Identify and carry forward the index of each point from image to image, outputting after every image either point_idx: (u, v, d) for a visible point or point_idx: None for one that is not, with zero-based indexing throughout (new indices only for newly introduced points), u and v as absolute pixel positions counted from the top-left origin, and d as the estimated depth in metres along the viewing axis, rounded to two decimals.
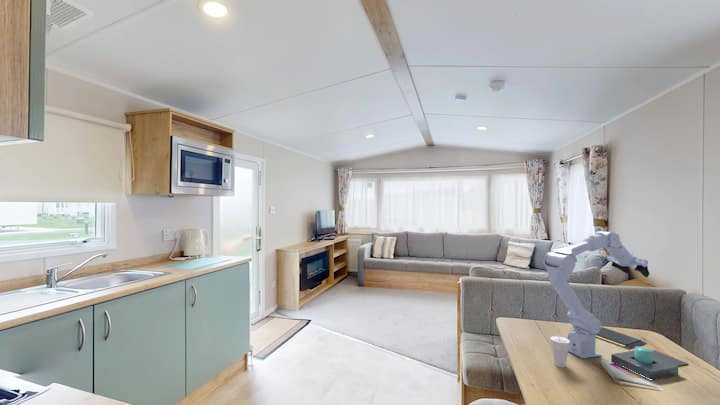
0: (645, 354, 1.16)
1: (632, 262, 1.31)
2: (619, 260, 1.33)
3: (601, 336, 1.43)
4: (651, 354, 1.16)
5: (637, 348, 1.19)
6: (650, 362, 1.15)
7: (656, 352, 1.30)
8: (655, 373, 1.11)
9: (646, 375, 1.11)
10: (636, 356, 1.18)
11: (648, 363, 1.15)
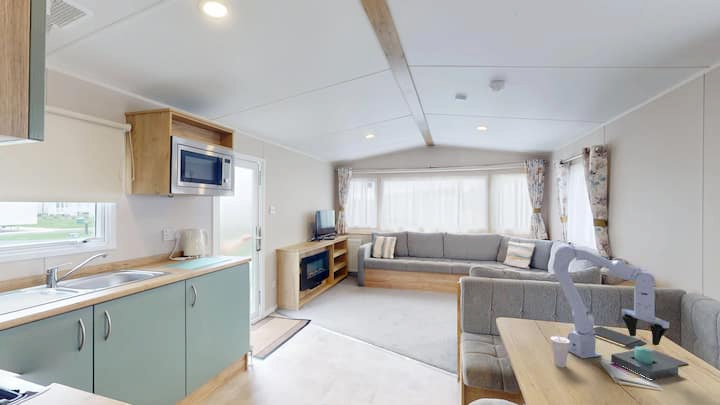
0: (645, 354, 1.16)
1: (651, 319, 1.15)
2: (640, 309, 1.17)
3: (601, 336, 1.44)
4: (651, 354, 1.16)
5: (637, 348, 1.19)
6: (650, 362, 1.15)
7: (656, 352, 1.30)
8: (655, 373, 1.11)
9: (646, 375, 1.11)
10: (636, 356, 1.18)
11: (648, 363, 1.15)
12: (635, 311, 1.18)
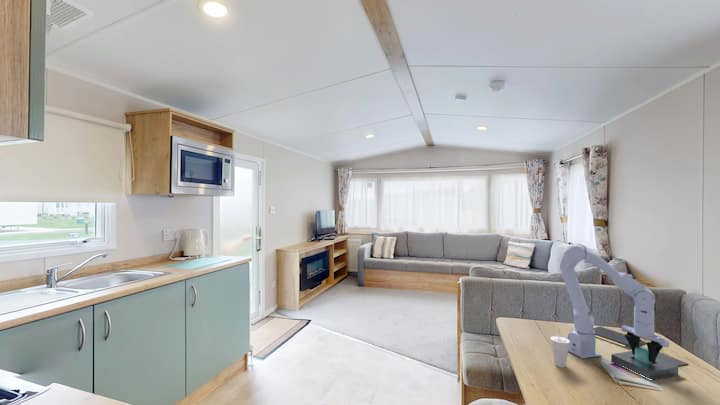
0: (645, 354, 1.16)
1: (651, 337, 1.15)
2: (639, 326, 1.17)
3: (601, 336, 1.44)
4: None
5: (637, 348, 1.19)
6: (650, 362, 1.15)
7: None
8: (655, 373, 1.11)
9: (646, 375, 1.11)
10: (636, 356, 1.18)
11: (648, 363, 1.15)
12: (635, 329, 1.18)
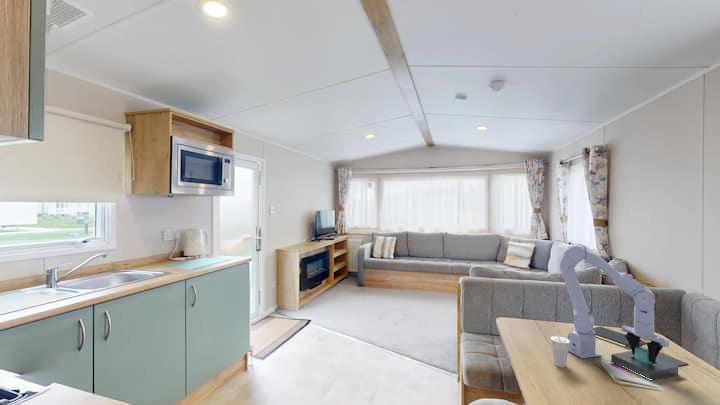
0: (645, 354, 1.16)
1: (651, 337, 1.15)
2: (639, 326, 1.17)
3: (601, 336, 1.44)
4: None
5: (637, 348, 1.19)
6: (650, 362, 1.15)
7: None
8: (655, 373, 1.11)
9: (646, 375, 1.11)
10: (636, 356, 1.18)
11: (648, 363, 1.15)
12: (635, 329, 1.18)
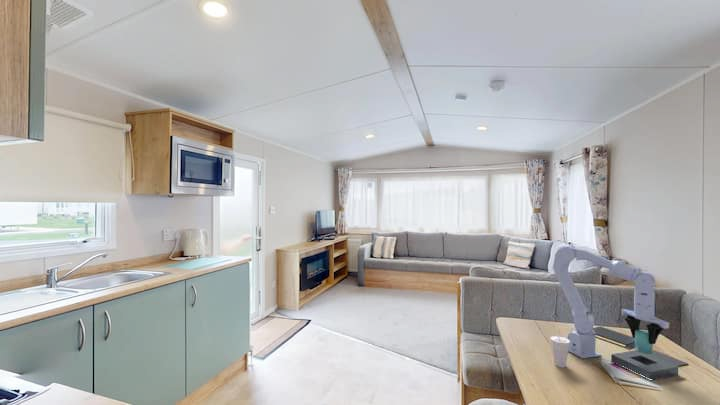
0: (645, 337, 1.16)
1: (651, 319, 1.15)
2: (640, 309, 1.17)
3: (601, 336, 1.44)
4: None
5: (637, 330, 1.19)
6: (650, 344, 1.15)
7: (656, 352, 1.30)
8: (655, 373, 1.11)
9: (646, 375, 1.11)
10: (636, 339, 1.18)
11: (648, 345, 1.15)
12: (635, 311, 1.18)
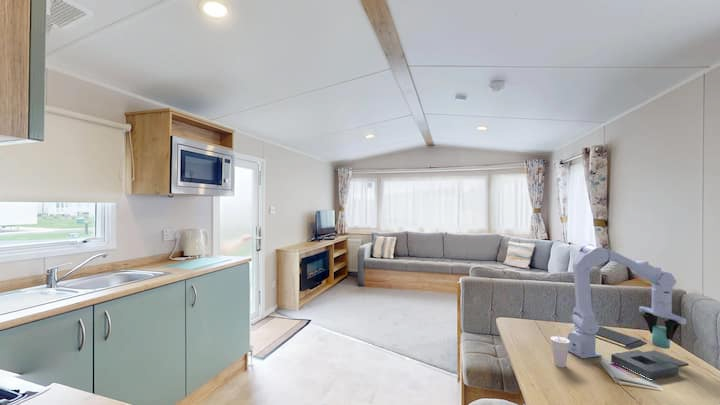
0: (663, 332, 1.22)
1: (669, 315, 1.21)
2: (657, 306, 1.23)
3: (601, 336, 1.44)
4: None
5: (654, 326, 1.25)
6: (668, 339, 1.22)
7: (656, 352, 1.30)
8: (655, 373, 1.11)
9: (646, 375, 1.11)
10: (654, 334, 1.25)
11: (666, 340, 1.22)
12: (653, 308, 1.25)
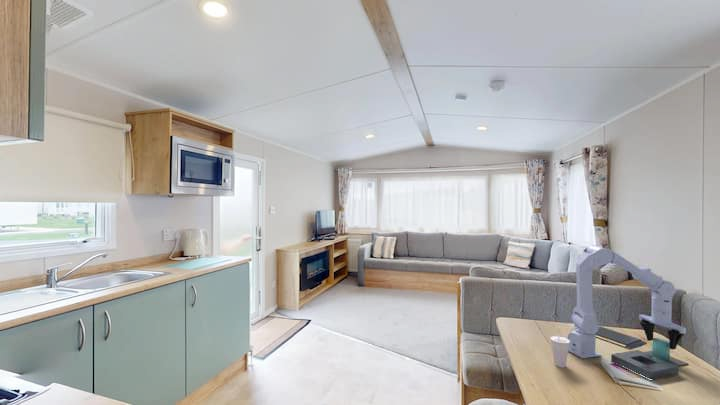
0: (663, 345, 1.22)
1: (669, 324, 1.21)
2: (657, 315, 1.23)
3: (601, 336, 1.44)
4: (669, 345, 1.22)
5: (655, 339, 1.25)
6: (668, 352, 1.22)
7: None
8: (655, 373, 1.11)
9: (646, 375, 1.11)
10: (654, 347, 1.25)
11: (666, 353, 1.22)
12: (653, 317, 1.25)
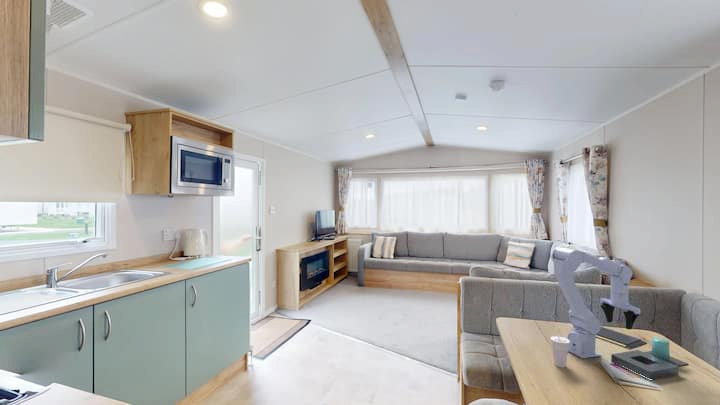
0: (662, 345, 1.22)
1: (625, 306, 1.29)
2: (615, 297, 1.31)
3: (601, 336, 1.44)
4: (668, 344, 1.22)
5: (654, 339, 1.26)
6: (667, 352, 1.22)
7: None
8: (655, 373, 1.11)
9: (646, 375, 1.11)
10: (653, 347, 1.25)
11: (665, 353, 1.22)
12: (611, 299, 1.32)
